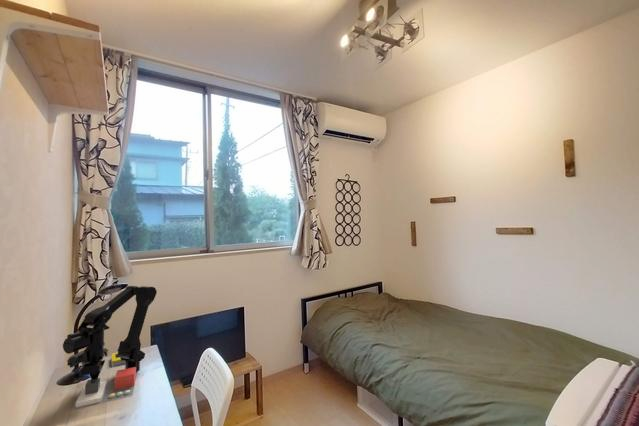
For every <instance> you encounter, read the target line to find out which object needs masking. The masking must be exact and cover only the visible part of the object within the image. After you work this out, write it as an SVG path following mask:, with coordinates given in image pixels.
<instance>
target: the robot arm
mask: <svg viewBox="0 0 639 426" xmlns="http://www.w3.org/2000/svg"><path fill="white" fill-rule="evenodd" d="M157 291H158V290H157V289H156V287H154V286H147V285H146V286H144V285H142V286H137V285H128V286H126V287H125V288H124V290H122V291H121V292H119V293H118V294H117V295H116V296H114V297H113V298H112V299H111V300H109V301H108V302H106V303H105V304H103V306H100V307H97V308H94V309H92V310H91V311H89V312H87V313H86V314H85V315H84V318H83V320H82V322H81V324H80V325H79V326H78V327H77V329H76V332H74V333H69V334H67V336H66V338H65V340H64V341H63V343H62V350H63V352H65V353H66V354H68V355H70V354H73V353H74V352H77V353H74V354H73V355H71V356H69V357H68V358H67V360H66V363H67V364H66V365H67V366H68V367H70V369H71V368H73V367H75V366H77V365H79V364H82V363H81V362H83V363H87V362H89V363H87V364H84V365H83V366H82V365H81V368H80V369H79V376H80V377H81V376H82V377H83V376H87V375H89V377H90V380H91V379H97V378H99V377H100V375H101V371H102V369H103V367H104V364H105V363H106V360H105V359H104V357H105V358H106V357H108V355H109V349H107V348H105V345H106V342H105V331H106V330H109V329H110V328H111V327H110V326H108V325H107V323H108V322H109V321H110V320H111V318H112V315H113V314H114V313H115V312H116V311H117V310H119V309H120V308H121V307H122V306H123V305H125V304H126V303H127V302H129V300H131V299H132V298H133V297H134V296H135V302H136V306H135V310H134V313H133V317H132V319H131V320H132V321H131V323H130V327H129V330H128V333H127V337H126V338H125V339H124V340H120V342H119V345H118V349H116V350H117V352H118V356H119V357H120V359H121V361H125V367H124V369H128V368H133V367H136V373H138V372H139V371H140V370H141V369H140V368H141V361H142V360H144V359H145V356H146V353H145V352H144V351H142V350H141V347H142V346H141V345H142V343H141V339H140V337H141V336H140V335H141V334H142V333H141V332H142V329H143V328H144V327H143V326H144V323H145V319H146V316H147V312H148V309H149V307H150V305H151V304H152V303H153V302H154V301H155V298H156V296H157V293H158V292H157ZM83 349H84V350H83ZM80 350H82V351H80ZM78 351H80V352H78Z"/></svg>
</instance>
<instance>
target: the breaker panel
mask: <svg viewBox="0 0 639 426" xmlns="http://www.w3.org/2000/svg"><path fill="white" fill-rule="evenodd" d="M136 380H137V378H136V379H135V381H136ZM135 386H136V383H135V384H134V386H130V387H125V388H120V389H116V390H115V380H112V381H108V380H103V381H100V388H99V390H98V392H95V393H90V394H85V385H84V386H83V387H81V390H80V392H79V393H78V395H77V397H76V399H75V401H74V402H73V405H72V407H71V408H70V411H74V410H78V409H82V408H87V407H91V406H95V405H99V404H103V403H109V402H113V401H117V400H121V399H125V398H130V397H133V394H134V390H135Z"/></svg>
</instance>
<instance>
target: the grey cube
mask: <svg viewBox="0 0 639 426" xmlns="http://www.w3.org/2000/svg"><path fill="white" fill-rule="evenodd" d="M100 382H101V377H98V378H97V379H91V378H90V379H87V381H86V383H85V385H84V386H85V394H90V393H95V392H98V390H99V388H100Z"/></svg>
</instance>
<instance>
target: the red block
mask: <svg viewBox="0 0 639 426" xmlns="http://www.w3.org/2000/svg"><path fill="white" fill-rule="evenodd" d="M135 379H136V380H137V372H136V367H133V368H128V369H125V368H123V369H119V370H117V371H116V373H115V376H114V381H115V390H116V389H120V388H125V387H130V386H134V387H135V385H136V380H135ZM134 384H135V385H134Z"/></svg>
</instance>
